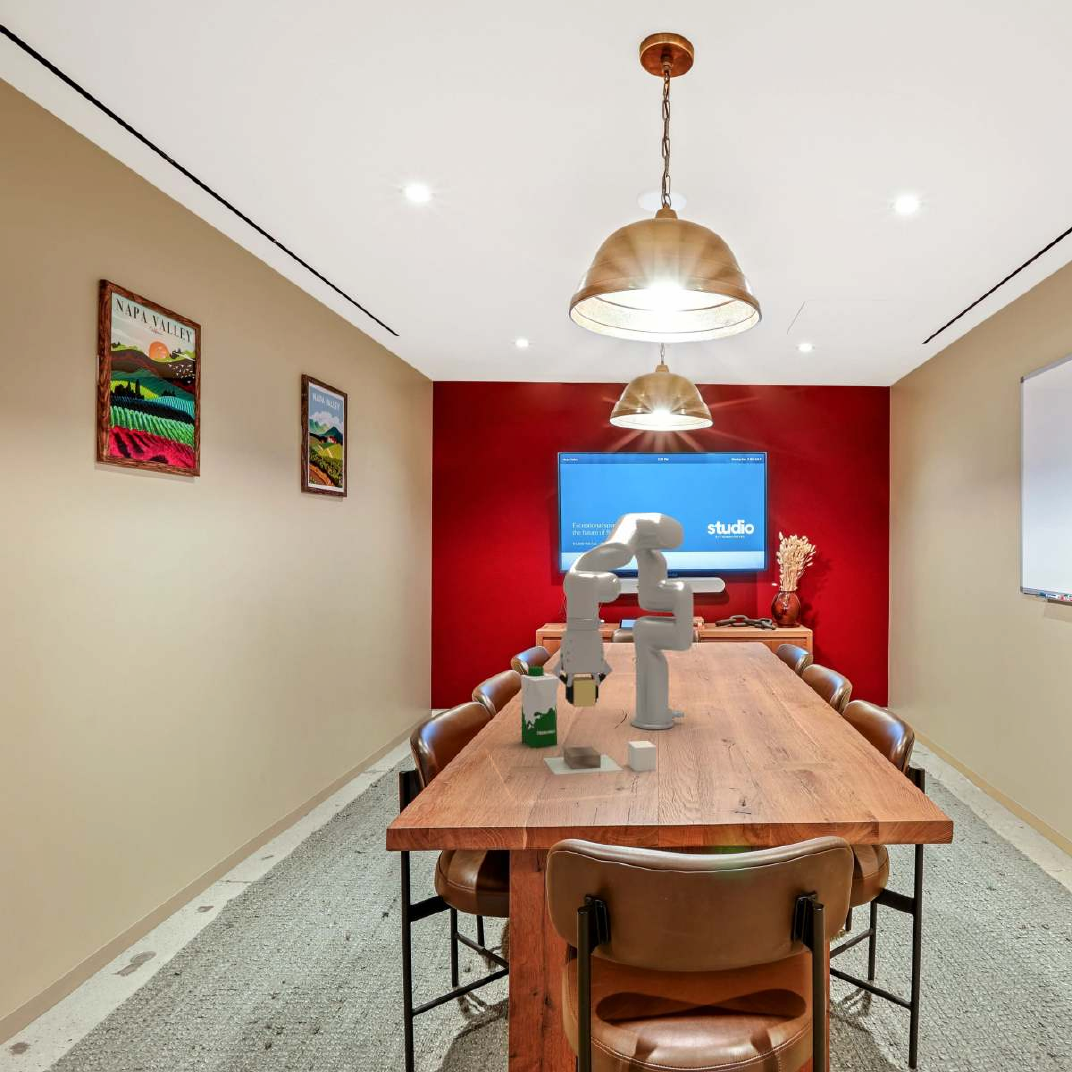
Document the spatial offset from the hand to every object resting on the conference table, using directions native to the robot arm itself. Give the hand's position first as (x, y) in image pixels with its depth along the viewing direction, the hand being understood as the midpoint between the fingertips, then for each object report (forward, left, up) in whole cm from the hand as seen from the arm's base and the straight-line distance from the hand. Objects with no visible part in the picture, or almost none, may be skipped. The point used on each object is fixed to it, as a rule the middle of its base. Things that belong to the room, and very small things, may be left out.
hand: (581, 701), depth 163 cm
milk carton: (+6, -19, -16) cm, 25 cm away
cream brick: (-13, +5, -15) cm, 21 cm away
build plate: (0, 0, -15) cm, 15 cm away
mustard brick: (0, 0, -1) cm, 1 cm away
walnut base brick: (0, 0, -15) cm, 15 cm away
